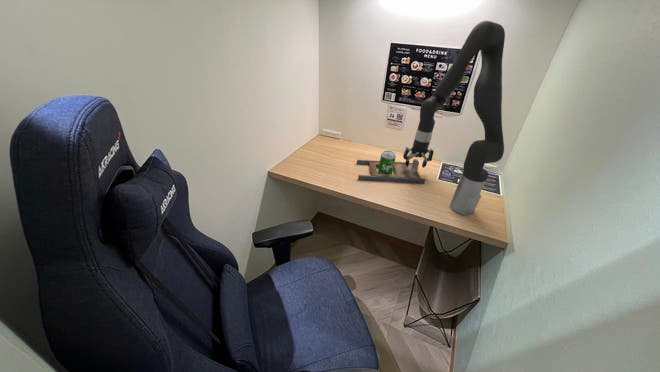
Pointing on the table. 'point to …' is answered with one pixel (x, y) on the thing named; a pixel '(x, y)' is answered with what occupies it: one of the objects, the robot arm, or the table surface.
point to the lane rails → (387, 179)
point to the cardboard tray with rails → (398, 170)
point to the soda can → (387, 162)
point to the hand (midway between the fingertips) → (414, 166)
